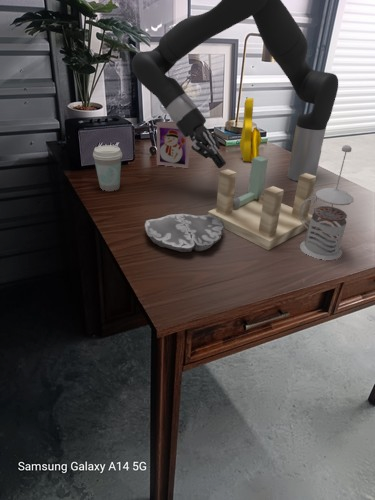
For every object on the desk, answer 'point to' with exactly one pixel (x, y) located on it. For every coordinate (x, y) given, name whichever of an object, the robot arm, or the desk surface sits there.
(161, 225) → the brain slice
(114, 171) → the coffee cup
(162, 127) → the greeting card
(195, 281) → the desk surface
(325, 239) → the french press
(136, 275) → the desk surface
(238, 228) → the stool seat
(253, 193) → the hinged leg
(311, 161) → the robot arm
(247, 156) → the figure statuette
